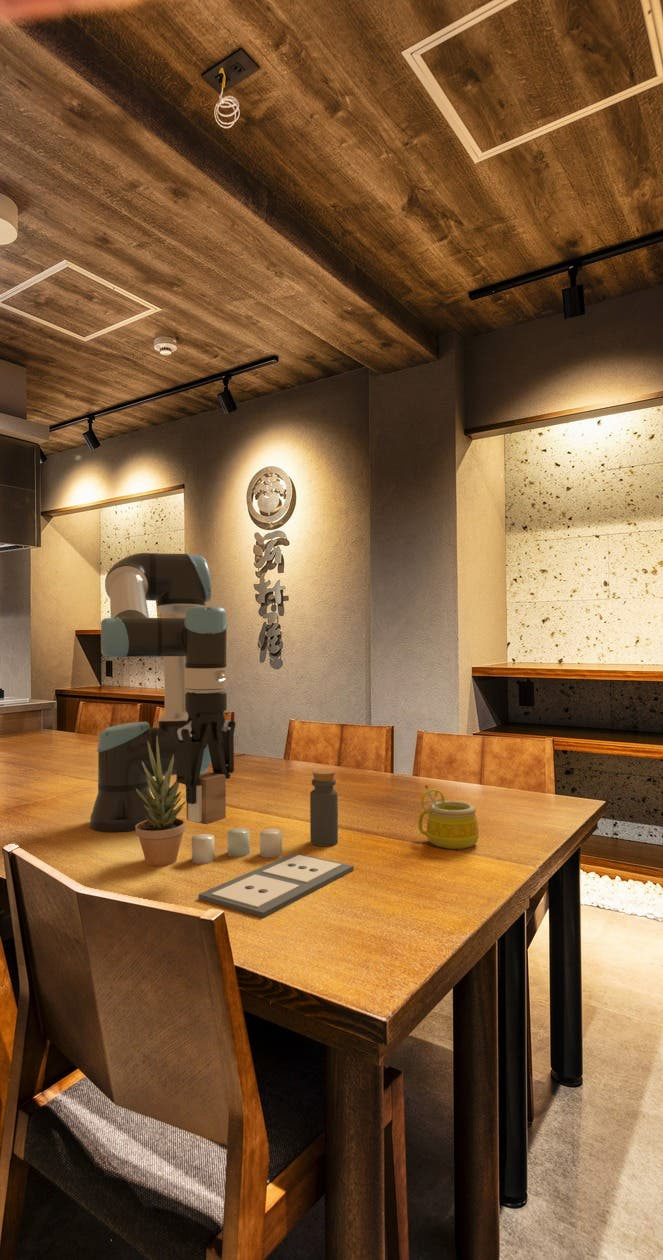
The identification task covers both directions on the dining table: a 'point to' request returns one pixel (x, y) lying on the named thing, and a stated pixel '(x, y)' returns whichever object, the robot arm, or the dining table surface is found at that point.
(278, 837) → the short white cylinder
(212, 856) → the pale grey cylinder
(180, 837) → the potted plant
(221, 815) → the block
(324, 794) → the bottle
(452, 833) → the mug
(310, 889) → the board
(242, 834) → the grey-green upright cylinder
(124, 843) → the dining table surface
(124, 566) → the robot arm
